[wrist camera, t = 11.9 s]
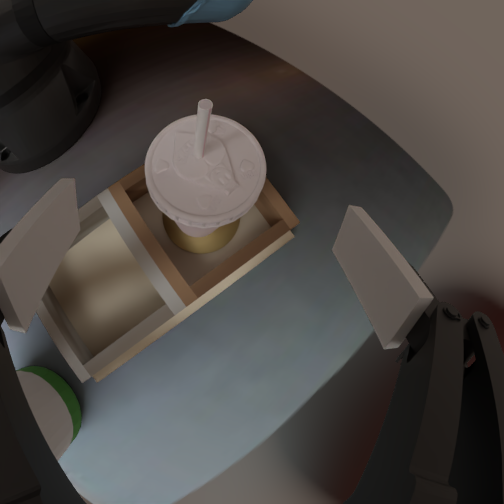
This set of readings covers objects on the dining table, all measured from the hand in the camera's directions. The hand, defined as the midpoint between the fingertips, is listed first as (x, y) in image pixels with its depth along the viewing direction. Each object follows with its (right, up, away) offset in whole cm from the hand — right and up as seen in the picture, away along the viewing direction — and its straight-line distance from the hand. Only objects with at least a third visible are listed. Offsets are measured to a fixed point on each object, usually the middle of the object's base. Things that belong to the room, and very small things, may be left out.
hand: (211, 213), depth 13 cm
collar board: (-6, -2, +10) cm, 12 cm away
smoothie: (-3, +1, +11) cm, 11 cm away
